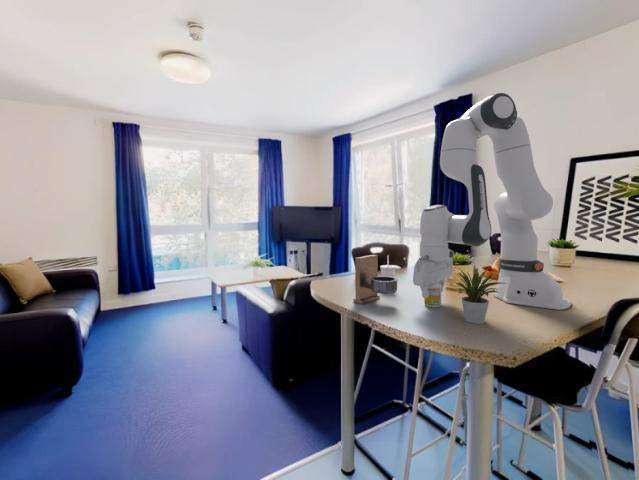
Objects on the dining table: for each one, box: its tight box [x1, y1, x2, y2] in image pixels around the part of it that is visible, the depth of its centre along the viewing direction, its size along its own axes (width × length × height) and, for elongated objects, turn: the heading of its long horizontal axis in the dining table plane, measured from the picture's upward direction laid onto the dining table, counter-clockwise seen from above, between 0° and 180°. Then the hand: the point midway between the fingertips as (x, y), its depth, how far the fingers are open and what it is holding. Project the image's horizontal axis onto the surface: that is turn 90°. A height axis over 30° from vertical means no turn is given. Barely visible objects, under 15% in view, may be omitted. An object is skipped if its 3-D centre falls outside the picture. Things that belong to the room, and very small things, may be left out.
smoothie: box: [379, 255, 397, 278], centre depth 129 cm, size 6×6×14 cm
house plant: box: [455, 264, 505, 325], centre depth 91 cm, size 14×14×16 cm
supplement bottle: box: [423, 278, 443, 308], centre depth 108 cm, size 5×5×10 cm
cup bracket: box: [352, 254, 398, 305], centre depth 111 cm, size 14×10×16 cm
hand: (432, 294), depth 108 cm, fingers open, 8 cm apart
